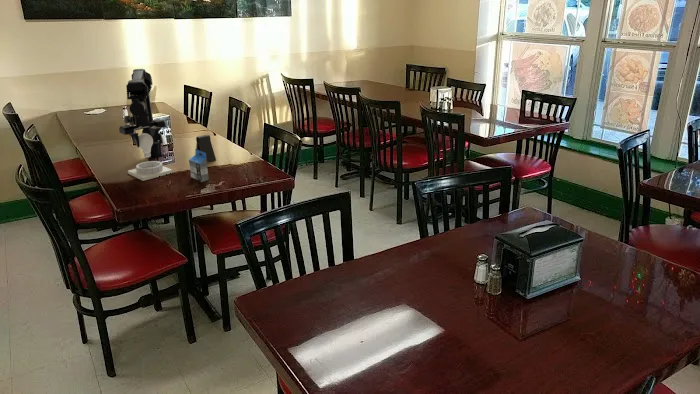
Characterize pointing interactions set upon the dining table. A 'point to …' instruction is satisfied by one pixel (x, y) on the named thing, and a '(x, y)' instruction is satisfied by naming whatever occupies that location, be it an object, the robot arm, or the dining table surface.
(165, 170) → the socket base
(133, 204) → the dining table surface
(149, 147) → the light bulb
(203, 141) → the phone stand
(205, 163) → the retail box
